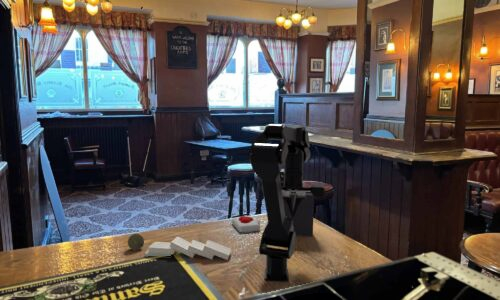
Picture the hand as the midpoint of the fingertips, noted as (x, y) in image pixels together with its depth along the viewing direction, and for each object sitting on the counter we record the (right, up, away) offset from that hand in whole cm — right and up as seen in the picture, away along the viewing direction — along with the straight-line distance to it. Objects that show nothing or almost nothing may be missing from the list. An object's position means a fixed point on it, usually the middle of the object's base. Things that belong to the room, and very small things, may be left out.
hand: (292, 217), depth 118 cm
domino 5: (-19, -11, -1) cm, 22 cm away
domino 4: (-24, -11, 0) cm, 27 cm away
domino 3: (-30, -11, +1) cm, 32 cm away
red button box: (-14, -9, +28) cm, 32 cm away
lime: (-50, -11, +5) cm, 52 cm away
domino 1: (-36, -10, +1) cm, 38 cm away
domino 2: (-37, -12, +1) cm, 39 cm away
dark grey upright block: (+4, -10, +20) cm, 23 cm away
